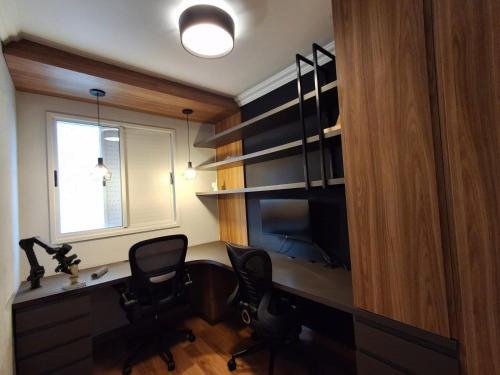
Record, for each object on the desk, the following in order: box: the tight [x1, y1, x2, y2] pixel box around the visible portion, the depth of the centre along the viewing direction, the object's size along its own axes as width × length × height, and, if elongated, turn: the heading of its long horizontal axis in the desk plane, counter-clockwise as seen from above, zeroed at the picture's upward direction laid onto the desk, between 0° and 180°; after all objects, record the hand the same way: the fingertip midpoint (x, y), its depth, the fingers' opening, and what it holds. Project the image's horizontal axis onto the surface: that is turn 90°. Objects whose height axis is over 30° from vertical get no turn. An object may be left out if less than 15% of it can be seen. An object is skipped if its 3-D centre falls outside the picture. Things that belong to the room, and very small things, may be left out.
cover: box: [68, 264, 80, 283], centre depth 182 cm, size 7×7×12 cm
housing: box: [61, 279, 87, 291], centre depth 181 cm, size 12×12×3 cm
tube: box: [90, 265, 109, 280], centre depth 210 cm, size 5×5×25 cm
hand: (75, 273), depth 182 cm, fingers closed on cover, 6 cm apart
